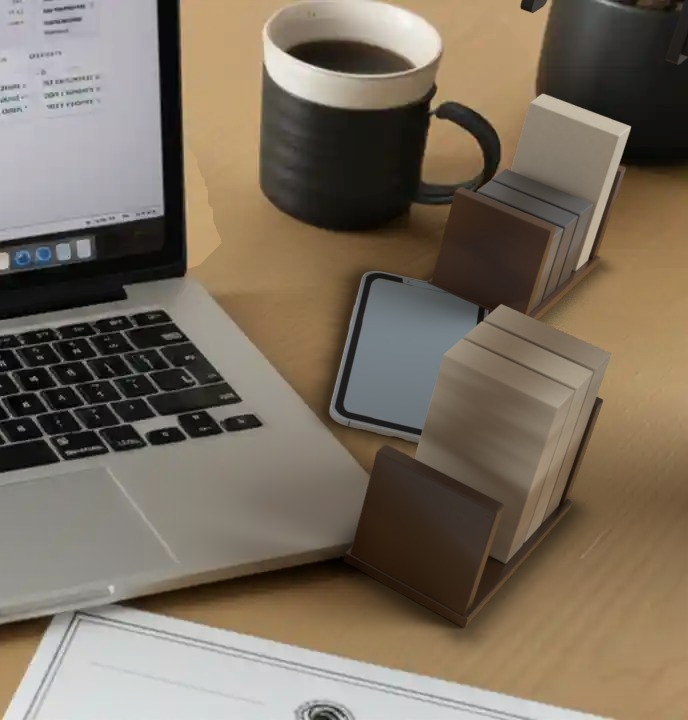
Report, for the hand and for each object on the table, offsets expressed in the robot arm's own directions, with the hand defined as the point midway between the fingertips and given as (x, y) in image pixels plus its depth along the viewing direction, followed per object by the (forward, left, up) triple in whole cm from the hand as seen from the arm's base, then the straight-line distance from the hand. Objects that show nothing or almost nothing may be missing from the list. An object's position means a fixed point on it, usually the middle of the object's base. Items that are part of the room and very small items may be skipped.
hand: (602, 32), depth 92 cm
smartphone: (0, +15, -15) cm, 21 cm away
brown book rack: (-9, +27, -15) cm, 32 cm away
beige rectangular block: (0, 0, -14) cm, 14 cm away
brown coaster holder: (0, +3, -15) cm, 15 cm away
